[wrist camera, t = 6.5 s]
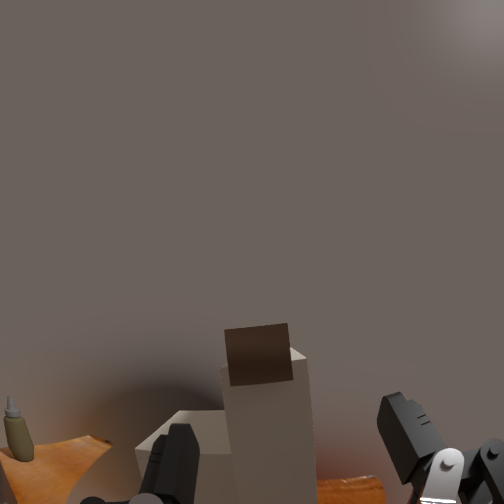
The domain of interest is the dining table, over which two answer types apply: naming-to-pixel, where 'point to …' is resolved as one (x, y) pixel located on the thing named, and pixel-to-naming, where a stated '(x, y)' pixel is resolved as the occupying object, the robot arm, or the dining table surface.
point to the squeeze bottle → (17, 433)
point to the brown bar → (258, 355)
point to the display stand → (253, 443)
